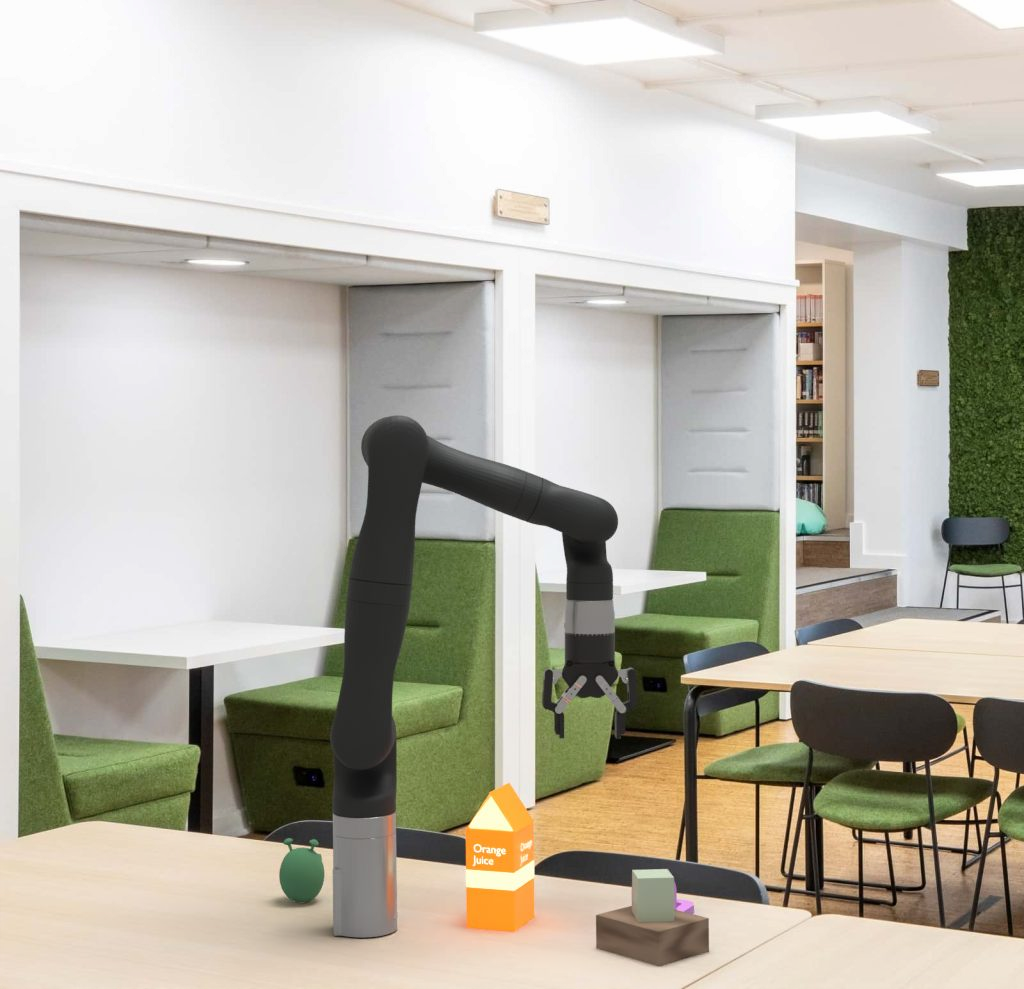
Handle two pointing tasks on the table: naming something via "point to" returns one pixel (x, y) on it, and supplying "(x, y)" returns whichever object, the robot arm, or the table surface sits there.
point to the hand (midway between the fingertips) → (589, 737)
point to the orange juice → (500, 863)
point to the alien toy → (301, 872)
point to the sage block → (653, 895)
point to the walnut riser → (652, 936)
